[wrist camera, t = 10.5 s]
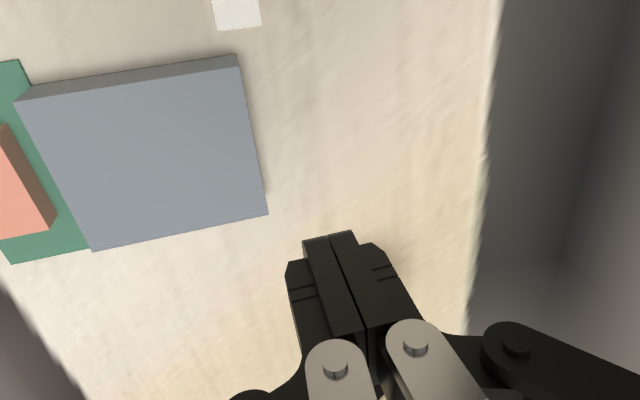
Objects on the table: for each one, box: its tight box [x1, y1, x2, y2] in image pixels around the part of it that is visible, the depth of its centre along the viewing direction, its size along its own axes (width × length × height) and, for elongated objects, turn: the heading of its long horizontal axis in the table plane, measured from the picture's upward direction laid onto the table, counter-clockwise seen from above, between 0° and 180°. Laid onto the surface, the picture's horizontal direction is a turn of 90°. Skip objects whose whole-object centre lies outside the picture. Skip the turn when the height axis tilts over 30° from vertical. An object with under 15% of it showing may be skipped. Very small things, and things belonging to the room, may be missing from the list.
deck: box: [12, 54, 269, 253], centre depth 35 cm, size 14×16×4 cm
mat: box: [0, 59, 90, 265], centre depth 35 cm, size 18×9×1 cm, turn 6°
